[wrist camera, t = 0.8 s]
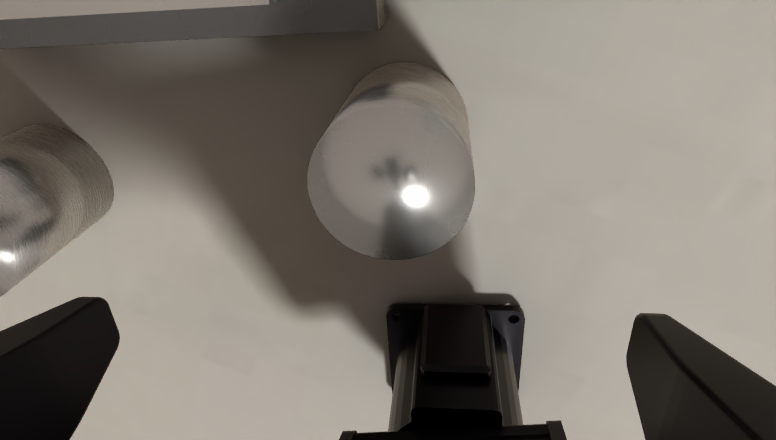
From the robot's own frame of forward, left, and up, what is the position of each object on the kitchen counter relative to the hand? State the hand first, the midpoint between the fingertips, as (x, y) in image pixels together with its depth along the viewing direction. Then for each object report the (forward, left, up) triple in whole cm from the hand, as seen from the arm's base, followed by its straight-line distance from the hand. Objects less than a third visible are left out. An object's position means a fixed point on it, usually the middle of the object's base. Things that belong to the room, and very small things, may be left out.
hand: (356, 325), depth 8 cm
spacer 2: (-1, 0, -13) cm, 13 cm away
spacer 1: (-3, +16, -13) cm, 21 cm away
